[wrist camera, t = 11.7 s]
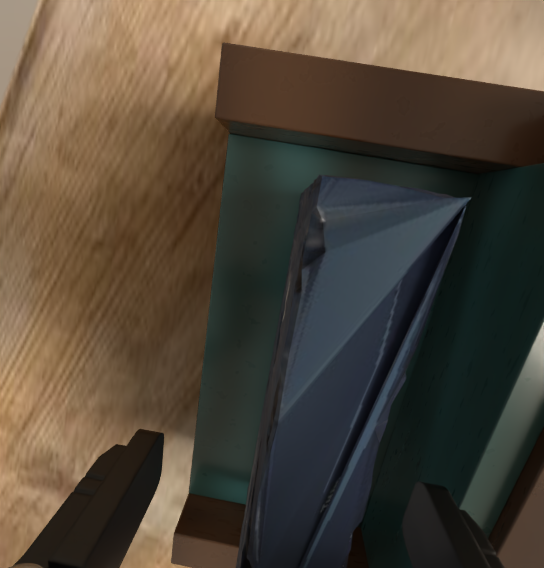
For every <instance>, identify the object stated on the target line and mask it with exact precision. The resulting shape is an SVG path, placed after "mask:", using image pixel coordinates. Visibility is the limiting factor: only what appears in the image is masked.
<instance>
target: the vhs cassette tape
mask: <svg viewBox="0 0 544 568" xmlns="http://www.w3.org/2000/svg"><path fill="white" fill-rule="evenodd" d="M471 198H472V197H470V198H455V197H452V196H449V195H447V194H439V193H435V192H431V191H427V190H423V189H418V188H410V187H402V186H395V185H390V184H385V183H379V182H374V181H369V180H363V179H357V178H348V177H338V176H329V175H318V177H317V179H315V180H314V182H313V183H312V184H310V186H309V187H308V188H306V189H305V190H304V192H303V193H301V197H300V201H299V210H298V216H297V223H296V226H295V230H294V238H293V244H292V249H291V254H290V259H289V265H288V271H287V277H286V282H285V287H284V293H283V298H282V303H281V309H280V315H279V320H278V326H277V332H276V337H275V341H274V348H273V354H272V360H271V365H270V371H269V376H268V382H267V387H266V393H265V398H264V404H263V409H262V415H261V420H260V426H259V431H258V437H257V442H256V449H255V454H254V460H253V466H252V471H251V477H250V482H249V486H248V489H247V501H246V508H245V512H244V514H245V516H244V520H243V524H242V530H241V535H240V544H239V550H238V556H237V562H236V568H347V562H348V556H349V552H350V550H351V544H352V537H353V531H354V530H355V529H356V527H357V526H358V525H359V524H360V522H361V521H362V519H363V516H364V512H365V508H366V505H367V501H368V497H369V494H370V490H371V484H372V476H373V468H374V463H375V459H376V455H377V452H378V448H379V444H380V441H381V438H382V436H383V433H384V430H385V428H386V425H387V422H388V416H389V412H390V408H391V404H392V402H393V401H394V399H395V397H396V395H397V394H398V392H399V390H400V389H401V387H402V385H403V384H404V382H405V380H406V373H405V371H406V369H407V367H408V365H409V363H410V361H411V359H412V357H413V355H414V353H415V351H416V349H417V347H418V344H419V341H420V339H421V336H422V333H423V330H424V327H425V324H426V322H427V319H428V316H429V313H430V310H431V307H432V304H433V302H434V299H435V296H436V293H437V290H438V287H439V285H440V282H441V279H442V276H443V273H444V270H445V268H446V265H447V262H448V260H449V257H450V255H451V252H452V250H453V247H454V245H455V242H456V240H457V237H458V234H459V230H460V226H461V223H462V219H463V215H464V212H465V208H466V204H467V202H468V201H469V200H470V199H471Z"/></svg>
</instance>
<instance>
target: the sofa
mask: <svg viewBox="0 0 544 568" xmlns="http://www.w3.org/2000/svg"><path fill="white" fill-rule="evenodd" d="M215 118H216V119H217V120H218V121H219V122H220V123H221V124H222V125H223V126H224V128H225V129H226V130H227V131H228V132H229V133H230V134H229V135H228V144H227V153H226V162H225V171H224V180H223V189H222V198H221V207H220V216H219V225H218V234H217V243H216V252H215V261H214V270H213V279H212V288H211V297H210V306H209V315H208V324H207V333H206V342H205V351H204V360H203V369H202V378H201V387H200V396H199V405H198V414H197V423H196V432H195V441H194V450H193V459H192V468H191V477H190V486H189V494H188V497H187V499H186V502H185V505H184V507H183V510H182V513H181V516H180V518H179V521H178V524H177V526H176V529H175V532H174V538H173V548H172V558H171V563H173V564H178V565H182V566H187V567H192V568H236V562H237V556H238V550H239V544H240V535H241V530H242V524H243V520H244V516H245V514H244V512H245V508H246V501H247V489H248V486H249V482H250V477H251V471H252V466H253V460H254V454H255V449H256V442H257V437H258V431H259V426H260V420H261V415H262V409H263V404H264V398H265V393H266V387H267V382H268V376H269V371H270V365H271V360H272V354H273V348H274V341H275V337H276V332H277V326H278V320H279V315H280V309H281V303H282V298H283V293H284V287H285V282H286V277H287V271H288V265H289V259H290V254H291V249H292V244H293V238H294V230H295V226H296V223H297V216H298V210H299V201H300V197H301V193H303V192H304V190H305V189H306V188H308V187H309V186H310V184H312V183H313V182H314V180H315V179H317V177H318V175H329V176H338V177H348V178H357V179H363V180H369V181H374V182H379V183H385V184H390V185H395V186H402V187H410V188H418V189H423V190H427V191H431V192H435V193H439V194H447V195H449V196H452V197H455V198H470V197H472V198H471V199H470V200H469V201H468V202H467V204H466V208H465V212H464V215H463V219H462V223H461V226H460V230H459V234H458V237H457V240H456V242H455V245H454V247H453V250H452V252H451V255H450V257H449V260H448V262H447V265H446V268H445V270H444V273H443V276H442V279H441V282H440V285H439V287H438V290H437V293H436V296H435V299H434V302H433V304H432V307H431V310H430V313H429V316H428V319H427V322H426V324H425V327H424V330H423V333H422V336H421V339H420V341H419V344H418V347H417V349H416V351H415V353H414V355H413V357H412V359H411V361H410V363H409V365H408V367H407V369H406V371H405V373H406V380H405V382H404V384H403V385H402V387H401V389H400V390H399V392H398V394H397V395H396V397H395V399H394V401H393V402H392V404H391V408H390V412H389V416H388V422H387V425H386V428H385V430H384V433H383V436H382V438H381V441H380V444H379V448H378V452H377V455H376V459H375V463H374V468H373V476H372V484H371V490H370V494H369V497H368V501H367V505H366V508H365V512H364V516H363V519H362V521H361V522H360V524H359V525H358V526H357V527H356V529H355V530H354V531H353V537H352V544H351V550H350V552H349V556H348V562H347V568H413V567H412V564H411V561H410V558H409V555H408V552H407V549H406V546H405V542H404V538H403V532H402V520H403V515H404V513H405V510H406V507H407V505H408V502H409V499H410V496H411V494H412V491H413V488H414V486H415V484H416V482H418V481H420V482H425V483H431V484H436V485H441V486H445V487H446V488H447V489H448V490H449V492H450V494H451V496H452V497H453V499H454V501H455V503H456V505H457V507H458V508H459V509H460V510H465V511H466V512H467V513H468V514H469V515H470V516H471V517H472V519H473V520H474V521H475V522H476V523H477V524H478V525H479V526H480V528H481V529H482V530H483V531H484V533H485V535H486V536H487V538H488V540H489V541H490V543H491V545H492V547H493V548H494V550H495V552H496V556H497V557H499V559H500V560H501V562H502V564H503V565H504V567H505V568H544V91H537V90H531V89H524V88H518V87H511V86H504V85H498V84H491V83H485V82H478V81H472V80H465V79H459V78H452V77H446V76H439V75H432V74H426V73H419V72H413V71H406V70H400V69H393V68H387V67H380V66H374V65H367V64H361V63H354V62H347V61H341V60H334V59H328V58H321V57H315V56H308V55H302V54H295V53H289V52H282V51H275V50H269V49H262V48H256V47H249V46H243V45H236V44H230V43H223V44H222V49H221V59H220V70H219V80H218V90H217V100H216V110H215Z"/></svg>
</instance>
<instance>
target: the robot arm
mask: <svg viewBox="0 0 544 568" xmlns="http://www.w3.org/2000/svg"><path fill="white" fill-rule="evenodd" d="M163 445H164V434H163V433H160V432H155V431H149V430H144V429H139V430H138V431H137V432H136V433H135V435H134V436H133V437H132V439H131V440H130V442H129V443H128V445H127V446H123V445H118V444H116V445H115V446H113V447H112V448H110V449H109V450H108V451H106V452H105V453H104V454H102V455H101V456H100V457H99V458H98V459H97V460H96V462H95V463H94V464H93V465H92V467H91V468H90V469H89V471H88V472H87V473H86V476H85V477H83V478H82V480H81V481H80V482H79V484H78V485H77V486H76V488H75V490H74V492H72V493H71V494H70V495H69V497H68V498H67V499H66V501H65V502H64V503H63V504H62V506H61V507H60V508H59V510H58V511H57V512H56V514H55V515H54V516H53V518H52V519H51V520H50V521H49V523H48V524H47V525H46V527H45V528H44V529H43V531H42V532H41V533H40V534H39V536H38V537H37V538H36V540H35V541H34V542H33V544H32V545H31V546H30V547H29V549H28V550H27V551H26V553H25V554H24V555H23V556H22V557H21V558H20V559H19V560H18V561H17V562H16V563H15V564H14V565H13V566H12V567H9V568H119V567H120V565H121V563H122V561H123V559H124V557H125V555H126V553H127V551H128V549H129V546H130V544H131V542H132V540H133V538H134V536H135V534H136V532H137V530H138V528H139V526H140V523H141V521H142V519H143V517H144V515H145V513H146V511H147V509H148V507H149V505H150V503H151V500H152V498H153V496H154V494H155V492H156V489H157V487H158V484H159V480H160V477H161V471H162V459H163ZM402 532H403V538H404V542H405V546H406V549H407V552H408V555H409V558H410V561H411V564H412V567H413V568H505V567H504V565H503V564H502V562H501V560H500V559H499V557H497V556H496V552H495V550H494V548H493V547H492V545H491V543H490V541H489V540H488V538H487V536H486V535H485V533H484V531H483V530H482V529H481V528H480V526H479V525H478V524H477V523H476V522H475V521H474V520H473V519H472V517H471V516H470V515H469V514H468V513H467V512H466V511H465V510H460V509H459V508H458V507H457V505H456V503H455V501H454V499H453V497H452V496H451V494H450V492H449V490H448V489H447V488H446V487H445V486H441V485H436V484H431V483H425V482H420V481H418V482H416V484H415V486H414V488H413V491H412V494H411V496H410V499H409V502H408V505H407V507H406V510H405V513H404V515H403V520H402Z"/></svg>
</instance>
